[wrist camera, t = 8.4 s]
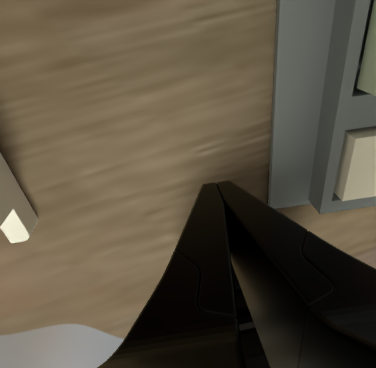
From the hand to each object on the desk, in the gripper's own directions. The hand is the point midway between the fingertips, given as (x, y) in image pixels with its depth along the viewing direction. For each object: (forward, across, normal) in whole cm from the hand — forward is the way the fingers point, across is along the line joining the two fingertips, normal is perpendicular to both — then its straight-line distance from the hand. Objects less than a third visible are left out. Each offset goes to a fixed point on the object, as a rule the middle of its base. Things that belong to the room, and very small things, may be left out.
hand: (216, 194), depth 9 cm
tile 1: (+11, -13, +6) cm, 18 cm away
